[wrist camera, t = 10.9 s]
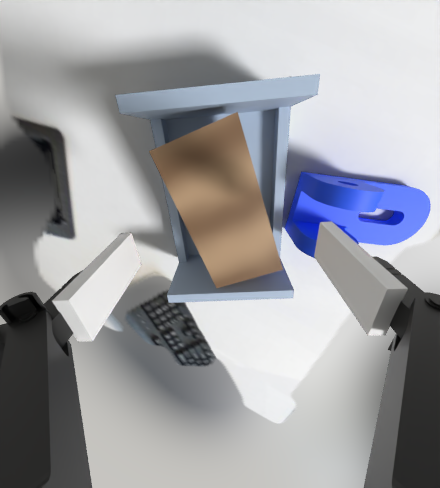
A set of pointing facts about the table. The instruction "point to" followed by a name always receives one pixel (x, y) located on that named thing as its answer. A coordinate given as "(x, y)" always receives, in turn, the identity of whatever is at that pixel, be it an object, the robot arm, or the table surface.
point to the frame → (262, 155)
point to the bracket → (354, 210)
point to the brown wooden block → (220, 200)
